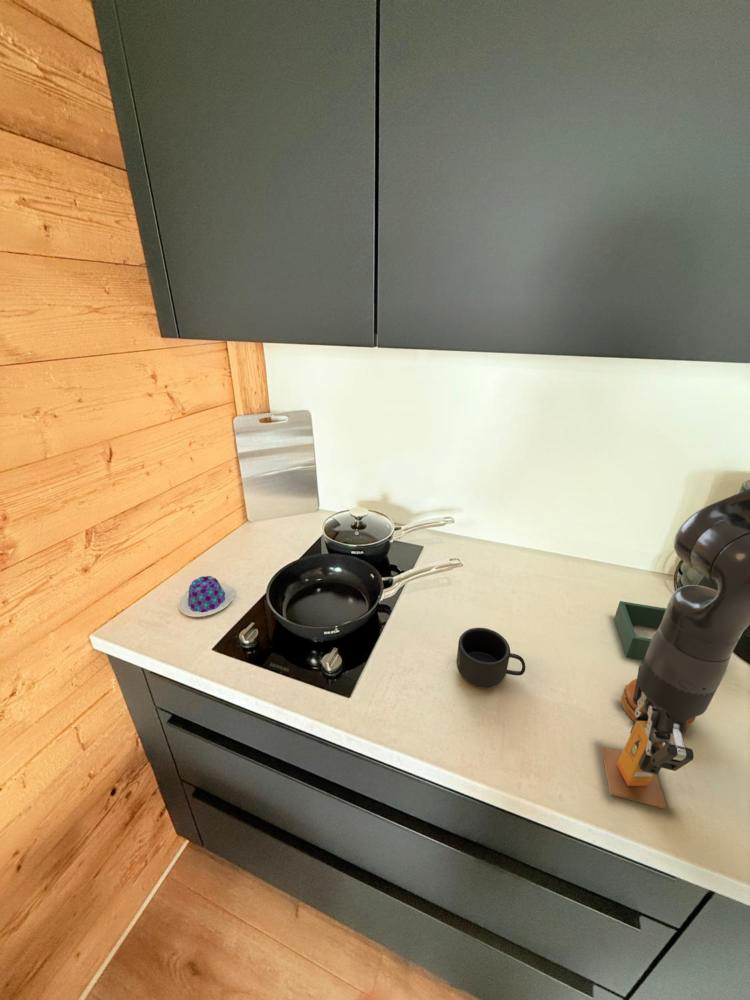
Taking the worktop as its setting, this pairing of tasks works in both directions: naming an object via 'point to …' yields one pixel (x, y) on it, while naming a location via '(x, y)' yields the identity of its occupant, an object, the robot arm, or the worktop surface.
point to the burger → (631, 707)
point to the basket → (636, 616)
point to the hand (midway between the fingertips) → (642, 752)
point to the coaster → (635, 793)
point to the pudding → (205, 597)
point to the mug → (484, 658)
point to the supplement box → (635, 757)
